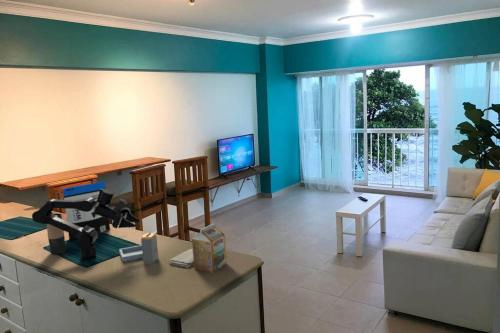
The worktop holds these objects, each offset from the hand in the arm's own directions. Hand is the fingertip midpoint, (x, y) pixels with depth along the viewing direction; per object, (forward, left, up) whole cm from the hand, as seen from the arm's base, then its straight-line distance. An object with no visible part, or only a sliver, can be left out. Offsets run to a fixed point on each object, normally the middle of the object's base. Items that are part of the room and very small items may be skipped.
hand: (137, 223), depth 205 cm
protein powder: (-21, +49, -16) cm, 56 cm away
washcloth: (+20, -20, -17) cm, 33 cm away
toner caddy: (+3, -12, -16) cm, 20 cm away
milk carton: (+26, -33, -16) cm, 45 cm away
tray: (-3, 0, -16) cm, 16 cm away
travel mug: (-38, +26, -16) cm, 49 cm away
